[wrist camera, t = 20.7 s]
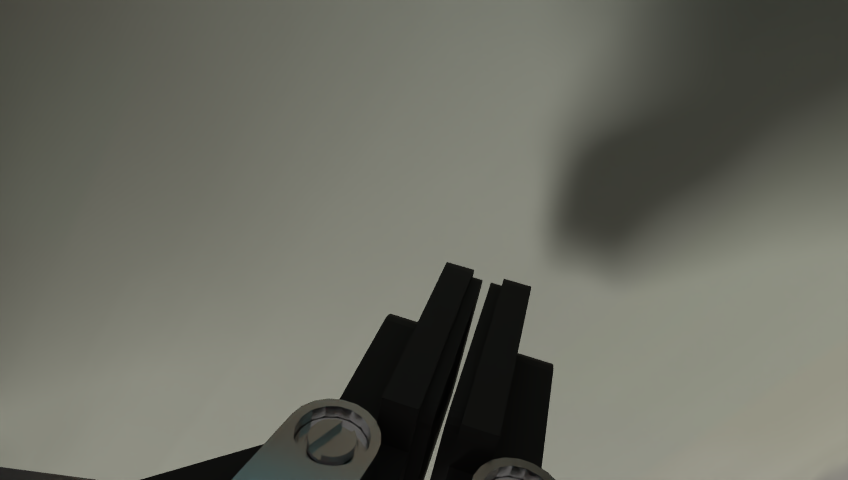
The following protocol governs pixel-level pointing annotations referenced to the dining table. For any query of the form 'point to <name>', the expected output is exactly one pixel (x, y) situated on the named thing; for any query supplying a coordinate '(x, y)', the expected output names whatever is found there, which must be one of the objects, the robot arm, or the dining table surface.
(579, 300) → the dining table surface
